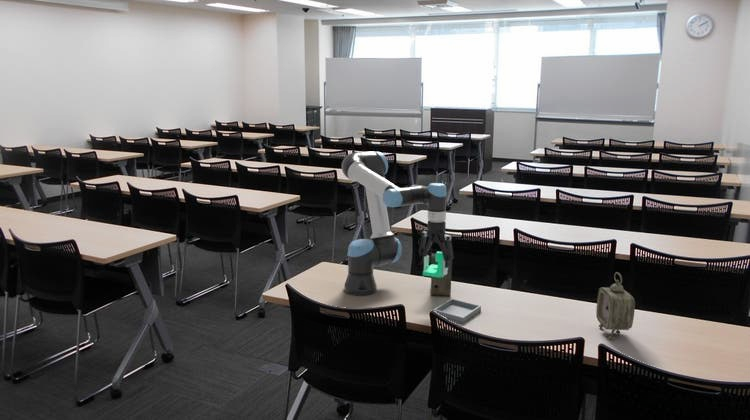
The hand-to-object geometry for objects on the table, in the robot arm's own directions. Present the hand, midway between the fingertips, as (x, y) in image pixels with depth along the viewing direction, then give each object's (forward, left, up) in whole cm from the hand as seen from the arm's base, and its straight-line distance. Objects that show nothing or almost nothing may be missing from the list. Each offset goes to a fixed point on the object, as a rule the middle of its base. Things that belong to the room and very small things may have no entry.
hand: (435, 272), depth 239 cm
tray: (+10, +2, -16) cm, 19 cm away
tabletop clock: (+68, +21, -16) cm, 73 cm away
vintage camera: (-9, +21, -16) cm, 28 cm away
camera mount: (0, 0, -1) cm, 1 cm away
